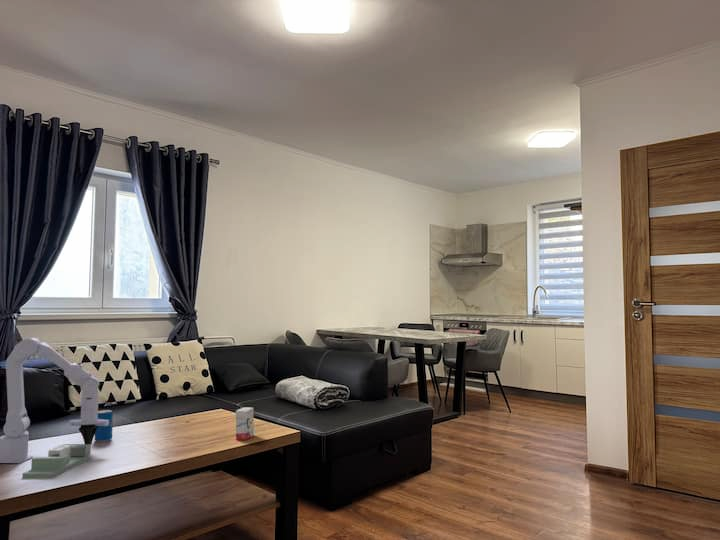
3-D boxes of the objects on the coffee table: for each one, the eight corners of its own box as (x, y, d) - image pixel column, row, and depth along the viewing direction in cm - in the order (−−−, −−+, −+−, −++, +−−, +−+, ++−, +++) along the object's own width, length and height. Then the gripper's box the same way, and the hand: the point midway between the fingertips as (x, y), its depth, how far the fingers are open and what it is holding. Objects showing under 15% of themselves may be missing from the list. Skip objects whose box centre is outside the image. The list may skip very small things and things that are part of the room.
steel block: (47, 465, 166) (48, 450, 166) (59, 460, 172) (59, 445, 172) (59, 465, 166) (59, 450, 166) (70, 460, 172) (70, 445, 172)
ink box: (246, 440, 201) (246, 411, 202) (234, 440, 202) (235, 411, 203) (254, 435, 209) (254, 407, 210) (243, 434, 210) (243, 406, 211)
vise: (22, 478, 158) (23, 462, 158) (62, 459, 178) (62, 445, 178) (52, 478, 158) (53, 462, 158) (88, 459, 177) (89, 445, 178)
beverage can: (107, 442, 199) (108, 412, 200) (91, 442, 199) (92, 413, 200) (115, 438, 206) (115, 409, 207) (99, 438, 206) (100, 409, 207)
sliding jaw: (56, 457, 175) (57, 447, 175) (63, 453, 179) (64, 444, 179) (84, 457, 175) (84, 447, 175) (90, 453, 178) (90, 444, 179)
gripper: (64, 410, 183) (62, 448, 182) (102, 410, 182) (101, 448, 181) (75, 407, 190) (74, 442, 189) (112, 407, 189) (111, 442, 188)
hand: (88, 445), depth 185 cm, fingers closed
